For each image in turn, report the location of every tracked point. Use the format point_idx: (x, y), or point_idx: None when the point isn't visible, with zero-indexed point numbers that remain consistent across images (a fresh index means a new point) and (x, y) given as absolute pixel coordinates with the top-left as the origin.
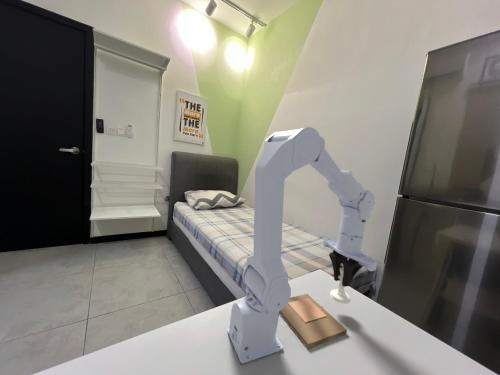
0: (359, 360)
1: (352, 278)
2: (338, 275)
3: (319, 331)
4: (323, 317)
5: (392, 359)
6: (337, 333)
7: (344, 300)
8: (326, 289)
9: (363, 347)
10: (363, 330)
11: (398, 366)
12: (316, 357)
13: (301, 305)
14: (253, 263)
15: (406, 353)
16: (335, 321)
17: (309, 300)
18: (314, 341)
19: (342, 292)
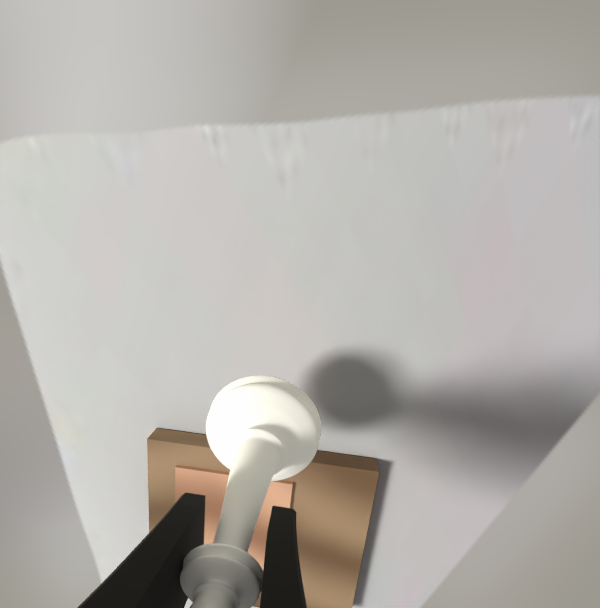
0: (458, 515)
1: (301, 596)
2: (179, 592)
3: (332, 559)
4: (291, 497)
5: (531, 416)
6: (369, 515)
7: (309, 461)
8: (131, 275)
9: (443, 458)
10: (403, 379)
11: (554, 427)
12: (379, 602)
13: (206, 525)
14: None
15: (562, 335)
16: (327, 472)
17: (191, 473)
18: (351, 600)
19: (275, 472)
